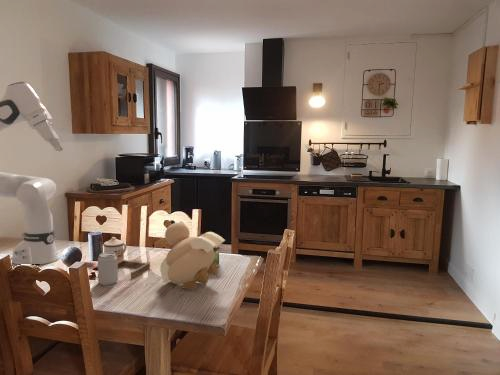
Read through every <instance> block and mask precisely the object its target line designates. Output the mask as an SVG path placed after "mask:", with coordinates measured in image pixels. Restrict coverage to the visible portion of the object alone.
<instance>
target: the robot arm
mask: <svg viewBox="0 0 500 375" xmlns="http://www.w3.org/2000/svg"><path fill="white" fill-rule="evenodd" d="M51 121H53V117H52V115H51V114H50V113H49V111H48V109H47V108H46V106H44V104H42V102H41V99H40V97H39V95H38V94H37V93H36V91H35V89H34V88H33V87H32V86H31V85H30V84H29V83H27V82H25V81H19V82H14V83H11V84H9V85H7V86H6V87H5V93H4V95H3V96H2V99H1V100H0V131H2V130H4V129H6V128H9V127H10V126H13V125H15V124H19V123H22V122H26V123H27V124H28V126H29V127H30V128H31V130H34V129H35V131H37V133H38V134H39V135H40V137H41V138H42V139H43V140H44V141H45V142H46V143H47V142H48V143H49V144H50V145H51V146H52V147H53V149H54V150H55V151H56V152H61V151H63V146H62V145H61V144H60V141H59V140H60V138H59V135H58V134H57V133H56V131H55V130H54V128H53V126H52V125H53V123H52V122H51ZM56 192H57V185H56V183H55V181H54V180H52V179H50V178H47V177H40V176H39V177H38V176H34V175H24V174H16V173H11V172H4V171H0V197H3V198H9V199H10V198H14V199H15V198H16V199H17V200H18V201H19V202H20V204H21V206H22V209H23V210H22V211H23V214H24V217H25V230H26V232H23V233H22V234H21V237H23V240H22V241H20V242H19V243H18V244H16V246H14V247H13V249H12V255H11V256H10V257H11V260H12V263H11V264H15V265H19V264H34V265H33V266H36V265H35V264H40V265H47V264H50V263H53V262H55V261H57V260H59V256H58V255H59V254H58V252H57V248H56V242H55V236H56V235H55V233H56V232H55V230H54V224H53V223H54V222H53V213H52V212H51V209H50V208H49V204H48V203H49V202H48V200H50V199H51V198H52V197H53V196H54V195H55V194H56ZM19 266H20V265H19Z"/></svg>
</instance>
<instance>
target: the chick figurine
mask: <svg viewBox="0 0 500 375" xmlns="http://www.w3.org/2000/svg"><path fill="white" fill-rule="evenodd" d="M202 234H203V233H202ZM217 234H218V233H215V232H213V231H207V232H205V234H203V235H201V236H199V237H198V236H190V229H189V227H188V226H187V225H186V224H185V222H184V221H182V220H181V221H179V222H174V223H171V224H170V225H169V226H168V227H167V228H166V230H165V233H164V239H165V242H167V244H168V245H170V246H172V247H171V248H170V250H168V253H167V255H166V257H165V258H164V259H163V260H162V262H161V263H160V265H159V266H160V268H159V269H160V274H161V279H162V281H163V284H166V283H167V282H169V281H170V282H171V283H173V284H175V285H182V286H181V288H183V289H186V290H189V291H192V292H196V293H197V283H200V284H202V285H203V284H204V285H207V283H208V274H209V275H212V276H215V277H217V276H218V266H217V261H216V262H214V263H213V261H214V257H215V253H214V250H213V248H214V247H216V248H217V247H219V248H220V246H222V244H223V243H224V242H225V241H226V239H224V238H223V237H222V236H219V235H220V234H218V235H217ZM212 263H213V264H212Z"/></svg>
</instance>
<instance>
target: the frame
mask: <svg viewBox="0 0 500 375" xmlns="http://www.w3.org/2000/svg"><path fill="white" fill-rule="evenodd" d="M123 267H127V268H135V269H134V270H133V271H131V272H130V275H131V276H130V278H131V279H135V278H136V277H138V276H139V275H141V274H143V273H145V272H146V271H148V270H150V269H151V268H150V267H151V266H150V263H149V262H141V261H134V260H127V259H124V260H122V261H120V262H118V270H119V269H121V268H123Z"/></svg>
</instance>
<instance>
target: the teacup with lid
mask: <svg viewBox="0 0 500 375" xmlns="http://www.w3.org/2000/svg"><path fill="white" fill-rule="evenodd" d="M103 246H104V247H103V250H104V252H103V253H106V252H113V253H115V254H116V256H117V262H120V261H122V260H125V259H124V257H125V256H124V254H125V253H126V251H127V244H126V243H125V242H124V241H123V240H120V239H117V238H116V237H115V236H112V237H111V239H108V240H107V241H105V242H103Z"/></svg>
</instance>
